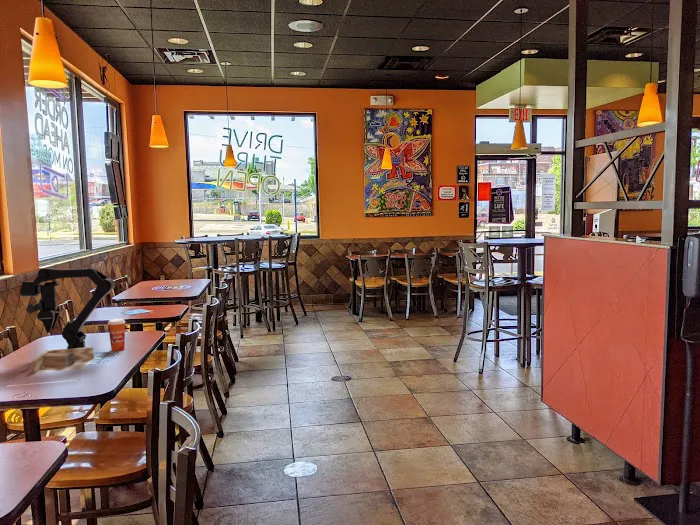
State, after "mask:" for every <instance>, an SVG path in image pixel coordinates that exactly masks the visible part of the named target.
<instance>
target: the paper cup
mask: <svg viewBox="0 0 700 525" xmlns="http://www.w3.org/2000/svg"><path fill="white" fill-rule="evenodd" d="M107 325H108V334H109V342H110V347H111V348H110V350H111V351H112V352H121V351H124V350H125V349H126V348H125V345H126V344H125V341H126V340H125V338H126V336H125V335H126V334H125V332H126V331H125V330H126V329H125V328H126V326H125V325H126V321H125V319H124V318H112V319H109V320H108V322H107Z"/></svg>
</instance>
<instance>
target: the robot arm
mask: <svg viewBox="0 0 700 525" xmlns="http://www.w3.org/2000/svg"><path fill="white" fill-rule="evenodd" d="M66 278H68V279H69V278H71V279H72V278H73V279H74V278H89V279H90V281H91V282H92V283H93V284H94V285H96V287H95V290H94V293H93V295H92V296H91V298H90V299H89V300H88V302H87V303H86V304H85V306H84V307H83V309H81V311H80V312H79V314H78V315H77V316H76V318H75V319H70V320H68V321H67V322H66V324H65V326H64V327H63V328H62V329H61V330H62V332H61V335H62V339H64V340H65V342H66V343H67V347H66V349H74V348H86V338H87V334H85V333H84V332H83V331H82V330H83V328H84V326H85V323H86V322H87V320H88V319H89V317H90V316H91V315H92V314H93V312H94V311H95V309H96V308H97V307H98V305H99V304H100V303H101V301H102V300H103V299H104V298H105V297H106V296H107V295H108V294H109V293H111V292H112V291H113V290H114V289H115V287H116V282H115V280H114V279H112V277H111V278H110V277H108V276H107V275H105V274H103V273H102V272H101V271H99V270H98V269H96V268H95V267H89V268H67V269H66V268H65V269H64V268H59V267H58V268H57V267H52V266H51V267H50V266H47V267H44V268H40V269H39V271H37V276H36V278H35V279H34V280H32V281H28V280H23V281H22V282H21V283H22V284H21V286H20V290H19V292H20V295H21V297H22V298H23V297H38V296H39V295H40V299H39V301H38V302H37V303H29V304H28V305H27V307H26V312H27V313H28V315H31V314H33V313H35V312H37V313H36V319H37V320H38V321H40V322H42V324H43V327H44V329H45V332H46V334H50V333H51V330H53V329H55V327H56V324H57V322H58V320H59V316H60V314H61V311H62V307H61V305H59V304H57V300H58V296H57V294H56V286H57V287H58V286H61V283H60V282H59V281H58V279H66ZM43 283H44V284H43Z"/></svg>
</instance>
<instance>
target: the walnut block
mask: <svg viewBox="0 0 700 525" xmlns="http://www.w3.org/2000/svg"><path fill="white" fill-rule="evenodd" d="M43 359H44V367H58V366H70V365H72V364H74V356H73V353H49V354H47V355H45V356H43Z"/></svg>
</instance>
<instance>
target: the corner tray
mask: <svg viewBox="0 0 700 525" xmlns="http://www.w3.org/2000/svg"><path fill="white" fill-rule="evenodd" d="M94 348H95V347H94V346H90V347H85V348H74V349H67V348H62V349H48V350H45V351H43V352H42V353H40V355H38V356H37V357H36V358H34V359H33V360H32V362H31V363H32V373H33V374H36V373H37V374H39V373H40V374H41V373H52V372H62V371H63V372H64V371H77V370H85V369H86V368H87V367H88V366H89V365H90V364H91V362H92V361H93V360H94V359H95V353H94V352H95V350H94ZM49 353H73V356H74V364H72V365H70V366H58V367H44V359H43V356H45V355H47V354H49Z"/></svg>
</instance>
